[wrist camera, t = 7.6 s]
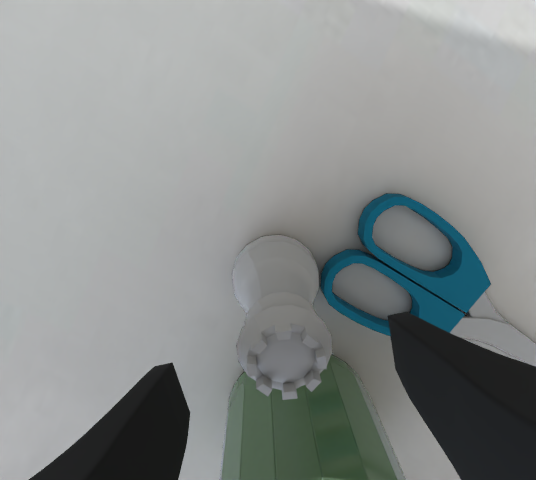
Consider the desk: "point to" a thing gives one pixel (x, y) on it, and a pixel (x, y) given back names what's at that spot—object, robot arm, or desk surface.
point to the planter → (307, 432)
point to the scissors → (431, 285)
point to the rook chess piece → (280, 316)
